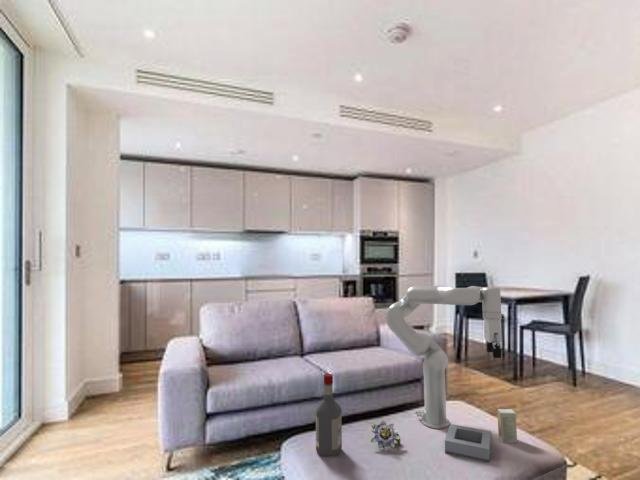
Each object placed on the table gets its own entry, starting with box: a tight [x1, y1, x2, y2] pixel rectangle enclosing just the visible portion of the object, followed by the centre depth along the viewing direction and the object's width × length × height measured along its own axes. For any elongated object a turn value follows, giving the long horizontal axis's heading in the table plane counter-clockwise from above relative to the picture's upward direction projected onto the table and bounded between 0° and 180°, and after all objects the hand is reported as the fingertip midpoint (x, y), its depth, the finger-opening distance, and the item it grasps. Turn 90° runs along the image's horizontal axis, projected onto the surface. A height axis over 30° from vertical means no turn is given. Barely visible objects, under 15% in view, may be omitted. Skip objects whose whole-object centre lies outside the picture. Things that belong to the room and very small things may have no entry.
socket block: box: [444, 423, 492, 464], centre depth 155 cm, size 16×16×5 cm
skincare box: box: [497, 408, 518, 444], centre depth 161 cm, size 6×4×12 cm
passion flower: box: [370, 419, 402, 452], centre depth 158 cm, size 11×11×12 cm
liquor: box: [315, 373, 343, 458], centre depth 154 cm, size 9×9×30 cm
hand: (494, 354), depth 167 cm, fingers open, 9 cm apart
